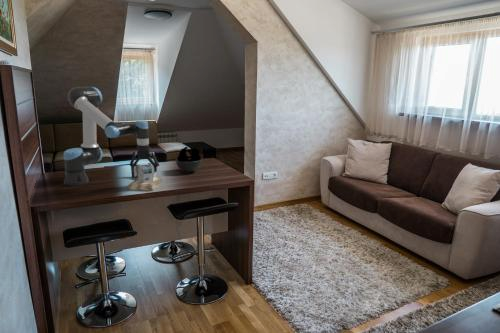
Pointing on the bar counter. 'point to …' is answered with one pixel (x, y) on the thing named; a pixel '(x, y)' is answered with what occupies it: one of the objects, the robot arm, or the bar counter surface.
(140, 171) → the light bulb box
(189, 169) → the coal bowl
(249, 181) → the bar counter surface
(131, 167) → the camera
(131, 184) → the base
